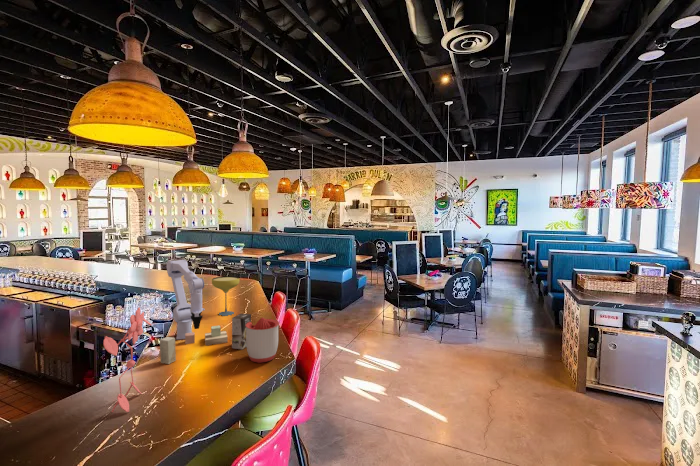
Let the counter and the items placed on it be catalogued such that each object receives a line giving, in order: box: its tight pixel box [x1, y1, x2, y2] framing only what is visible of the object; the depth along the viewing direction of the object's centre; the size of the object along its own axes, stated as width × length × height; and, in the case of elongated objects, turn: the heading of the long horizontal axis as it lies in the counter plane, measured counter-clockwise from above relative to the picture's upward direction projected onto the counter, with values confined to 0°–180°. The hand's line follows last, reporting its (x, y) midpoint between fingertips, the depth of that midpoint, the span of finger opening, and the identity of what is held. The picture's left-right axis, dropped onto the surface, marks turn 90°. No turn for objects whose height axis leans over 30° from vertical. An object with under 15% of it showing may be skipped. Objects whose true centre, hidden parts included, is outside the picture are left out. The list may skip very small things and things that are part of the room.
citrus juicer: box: [246, 317, 280, 364], centre depth 163 cm, size 16×17×20 cm
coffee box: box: [231, 313, 252, 350], centre depth 177 cm, size 9×6×16 cm
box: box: [159, 336, 177, 365], centre depth 157 cm, size 5×4×11 cm
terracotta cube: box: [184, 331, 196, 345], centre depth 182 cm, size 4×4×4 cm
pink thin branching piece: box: [103, 307, 153, 413], centre depth 122 cm, size 15×26×35 cm, turn 11°
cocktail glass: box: [211, 275, 240, 317], centre depth 234 cm, size 18×18×25 cm
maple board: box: [204, 330, 228, 346], centre depth 184 cm, size 11×11×3 cm
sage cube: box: [210, 325, 221, 337], centre depth 184 cm, size 4×4×4 cm
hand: (196, 326), depth 179 cm, fingers open, 7 cm apart
